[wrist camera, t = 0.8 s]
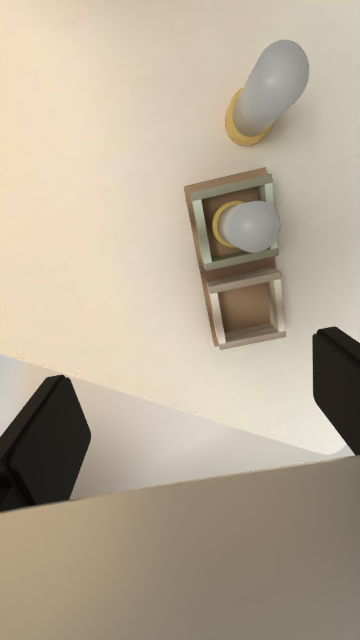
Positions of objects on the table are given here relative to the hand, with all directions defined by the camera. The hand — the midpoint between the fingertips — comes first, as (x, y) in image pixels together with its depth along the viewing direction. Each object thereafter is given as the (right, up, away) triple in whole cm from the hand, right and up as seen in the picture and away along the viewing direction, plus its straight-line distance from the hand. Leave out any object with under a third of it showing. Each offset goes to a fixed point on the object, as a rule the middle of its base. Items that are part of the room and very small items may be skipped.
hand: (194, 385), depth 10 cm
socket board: (+6, +9, +24) cm, 27 cm away
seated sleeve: (+5, +13, +21) cm, 26 cm away
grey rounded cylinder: (+7, +24, +19) cm, 31 cm away
